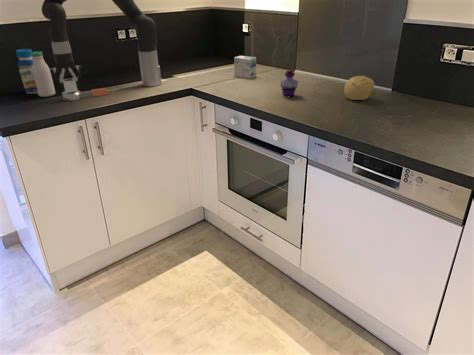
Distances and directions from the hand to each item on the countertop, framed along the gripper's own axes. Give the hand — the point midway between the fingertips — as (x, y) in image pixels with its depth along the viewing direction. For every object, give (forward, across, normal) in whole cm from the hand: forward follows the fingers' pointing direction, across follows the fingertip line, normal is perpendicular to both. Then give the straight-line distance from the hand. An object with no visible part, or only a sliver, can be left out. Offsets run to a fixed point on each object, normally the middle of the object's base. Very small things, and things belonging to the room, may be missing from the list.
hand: (70, 89), depth 177 cm
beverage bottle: (+4, +15, -22) cm, 27 cm away
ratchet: (+4, -6, 0) cm, 7 cm away
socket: (+1, 0, 0) cm, 1 cm away
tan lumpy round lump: (+5, -115, +66) cm, 133 cm away
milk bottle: (+5, +10, -13) cm, 17 cm away
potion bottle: (+5, -91, +46) cm, 102 cm away
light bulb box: (+5, -91, +4) cm, 91 cm away
